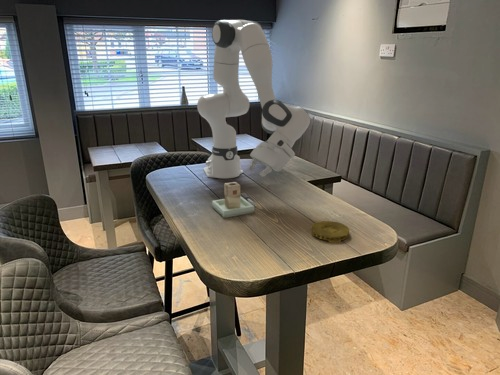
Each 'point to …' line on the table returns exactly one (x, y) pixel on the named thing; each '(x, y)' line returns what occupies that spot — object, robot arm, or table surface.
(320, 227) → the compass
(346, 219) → the table surface
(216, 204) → the tray
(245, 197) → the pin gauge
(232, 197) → the bored block
